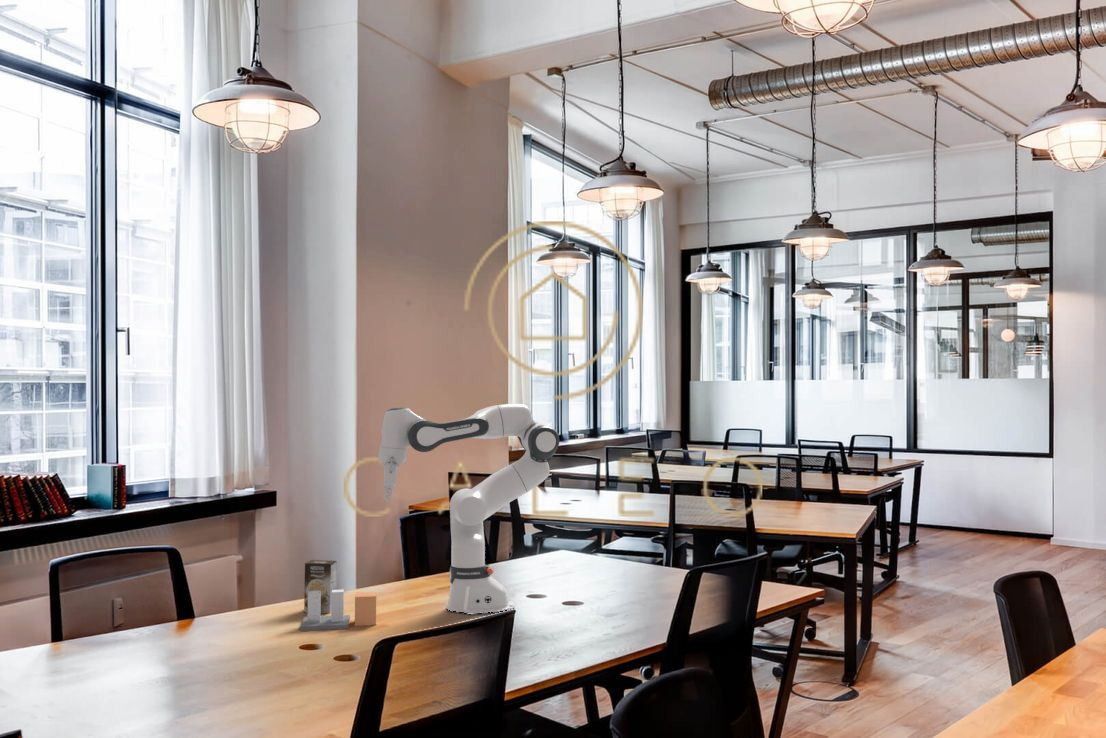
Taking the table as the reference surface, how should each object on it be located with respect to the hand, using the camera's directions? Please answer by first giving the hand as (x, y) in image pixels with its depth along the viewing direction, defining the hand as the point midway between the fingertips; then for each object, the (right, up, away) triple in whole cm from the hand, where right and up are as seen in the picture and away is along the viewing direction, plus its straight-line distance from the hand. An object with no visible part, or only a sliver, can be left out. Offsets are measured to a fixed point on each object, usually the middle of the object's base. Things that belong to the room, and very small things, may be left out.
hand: (387, 498), depth 292 cm
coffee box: (-23, -37, +3) cm, 44 cm away
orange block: (-4, -37, -13) cm, 39 cm away
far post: (-20, -37, -16) cm, 44 cm away
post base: (-16, -37, -16) cm, 43 cm away
